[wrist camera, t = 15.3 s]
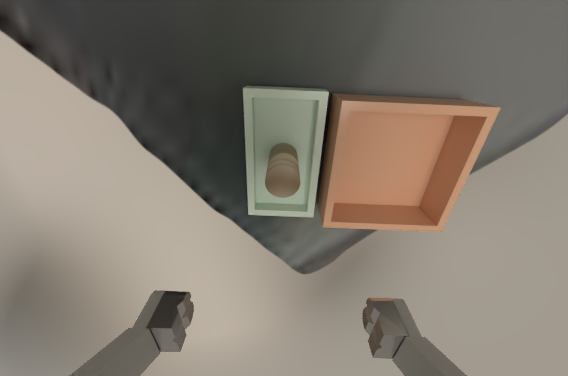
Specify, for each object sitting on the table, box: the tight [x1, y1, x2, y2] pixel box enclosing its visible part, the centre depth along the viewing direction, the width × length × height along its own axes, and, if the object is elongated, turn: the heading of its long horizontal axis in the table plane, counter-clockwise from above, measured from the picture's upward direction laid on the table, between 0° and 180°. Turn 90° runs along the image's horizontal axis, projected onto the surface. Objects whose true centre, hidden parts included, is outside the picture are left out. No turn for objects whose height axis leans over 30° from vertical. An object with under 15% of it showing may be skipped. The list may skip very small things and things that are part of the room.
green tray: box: [243, 86, 329, 217], centre depth 32 cm, size 18×10×3 cm, turn 178°
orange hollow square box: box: [318, 94, 501, 232], centre depth 31 cm, size 17×17×6 cm
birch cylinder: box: [265, 143, 300, 198], centre depth 29 cm, size 4×4×8 cm
